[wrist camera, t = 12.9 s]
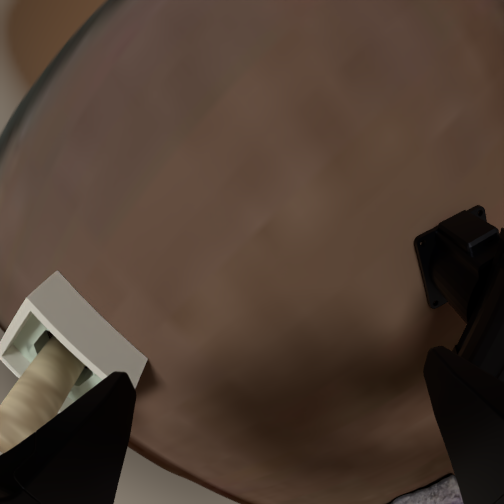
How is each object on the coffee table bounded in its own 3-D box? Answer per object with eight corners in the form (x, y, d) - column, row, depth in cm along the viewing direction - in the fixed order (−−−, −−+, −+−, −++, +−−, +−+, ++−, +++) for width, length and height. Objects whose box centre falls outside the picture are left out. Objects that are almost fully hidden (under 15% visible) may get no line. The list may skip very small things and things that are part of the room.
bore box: (148, 358, 25) (132, 396, 21) (91, 396, 28) (75, 427, 24) (57, 270, 22) (26, 297, 18) (17, 327, 25) (-6, 353, 21)
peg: (100, 354, 25) (38, 468, 13) (75, 363, 26) (15, 464, 14) (73, 319, 24) (-6, 428, 12) (50, 331, 25) (-23, 429, 13)
